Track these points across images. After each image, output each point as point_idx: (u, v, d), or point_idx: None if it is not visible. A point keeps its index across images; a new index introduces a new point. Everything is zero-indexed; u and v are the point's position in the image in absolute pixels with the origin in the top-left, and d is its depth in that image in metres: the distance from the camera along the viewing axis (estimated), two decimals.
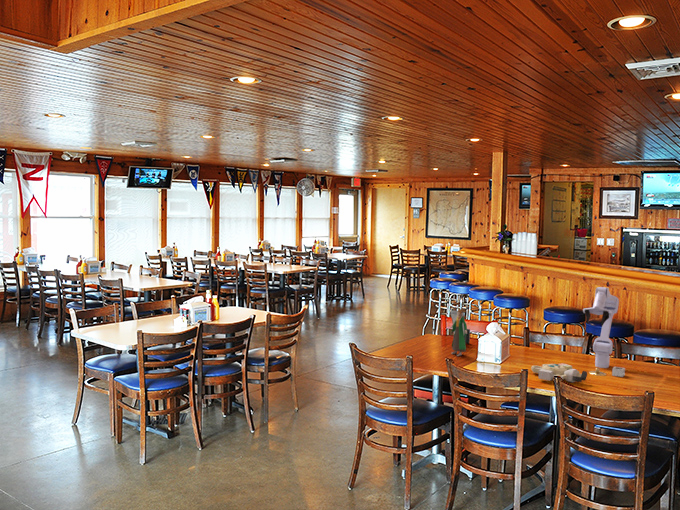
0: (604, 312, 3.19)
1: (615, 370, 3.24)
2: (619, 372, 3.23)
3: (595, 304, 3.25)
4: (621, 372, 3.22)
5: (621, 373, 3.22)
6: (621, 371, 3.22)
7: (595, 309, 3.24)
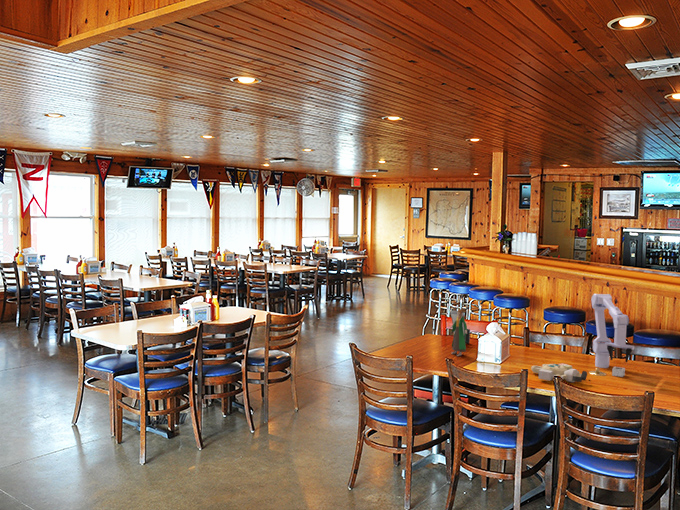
0: (627, 351, 3.20)
1: (615, 370, 3.24)
2: (619, 372, 3.23)
3: (616, 341, 3.23)
4: (621, 372, 3.22)
5: (621, 373, 3.22)
6: (621, 371, 3.22)
7: None
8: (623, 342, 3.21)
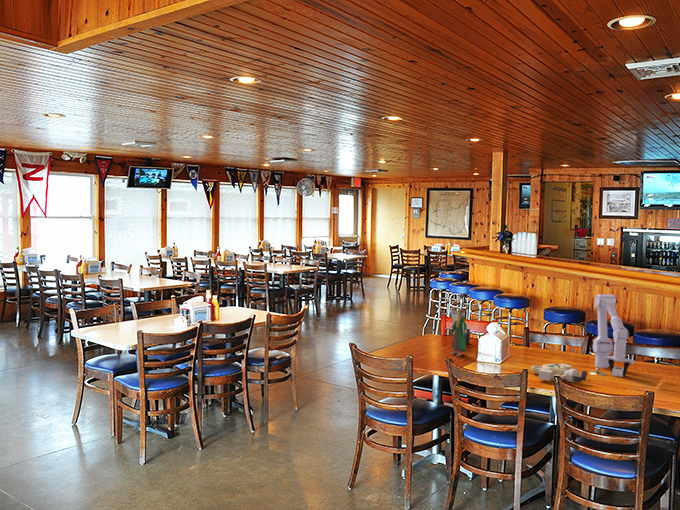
0: (625, 365, 3.21)
1: (615, 370, 3.24)
2: (619, 372, 3.23)
3: (616, 354, 3.23)
4: (621, 372, 3.22)
5: (621, 373, 3.22)
6: (621, 371, 3.22)
7: None
8: (623, 356, 3.22)
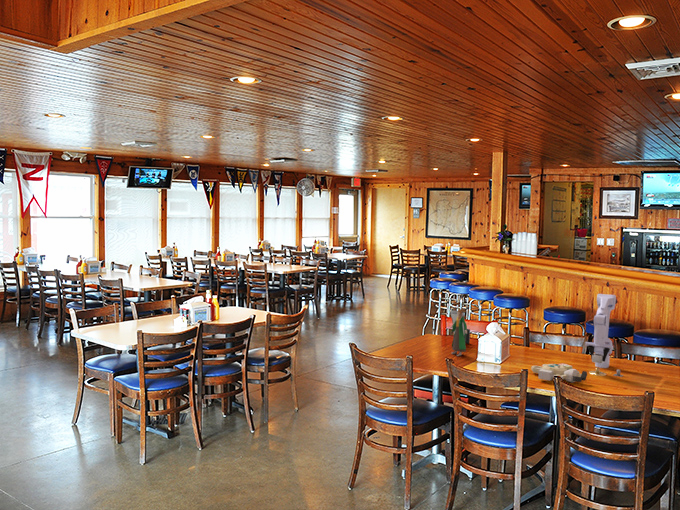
0: (604, 351, 3.23)
1: (595, 356, 3.26)
2: (599, 358, 3.25)
3: (596, 340, 3.26)
4: (600, 358, 3.24)
5: (600, 359, 3.24)
6: (600, 357, 3.24)
7: None
8: (602, 342, 3.24)
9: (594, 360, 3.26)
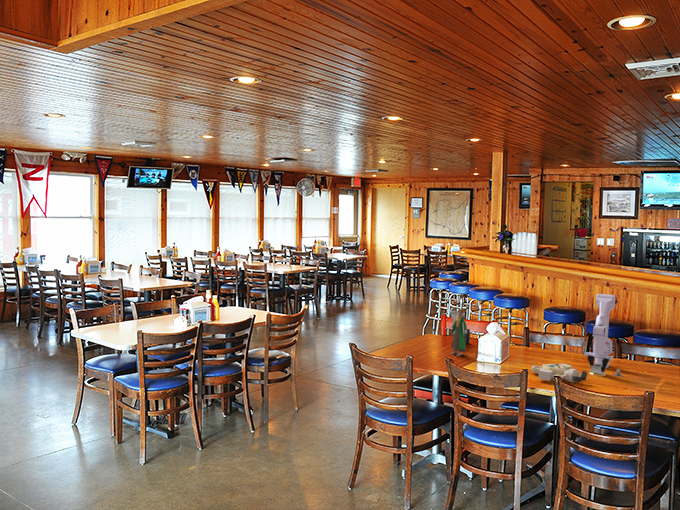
0: (603, 361, 3.24)
1: (593, 367, 3.27)
2: (598, 368, 3.25)
3: (595, 351, 3.26)
4: (599, 369, 3.25)
5: (599, 370, 3.25)
6: (599, 368, 3.25)
7: None
8: (601, 352, 3.25)
9: (593, 370, 3.27)
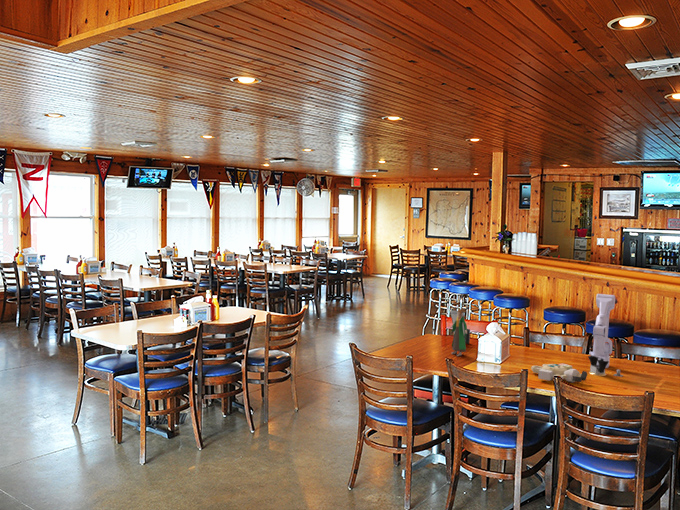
0: (598, 361, 3.23)
1: (592, 367, 3.29)
2: (594, 369, 3.27)
3: (593, 350, 3.28)
4: (595, 369, 3.26)
5: (595, 370, 3.26)
6: (595, 368, 3.26)
7: None
8: (598, 352, 3.25)
9: (591, 370, 3.29)
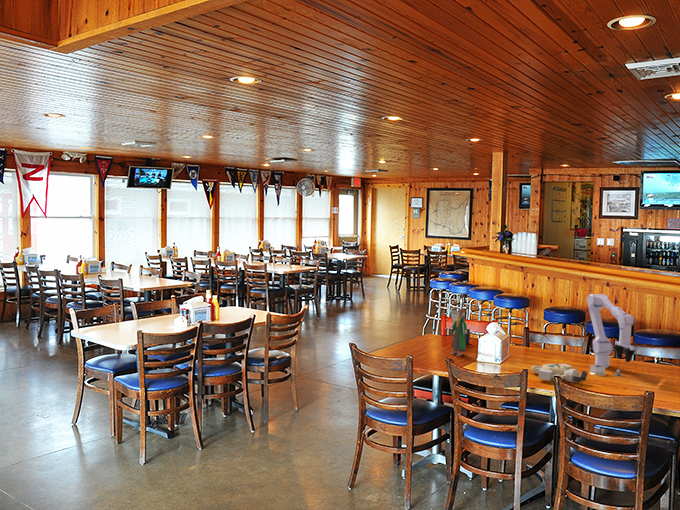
0: (624, 351, 3.23)
1: (592, 367, 3.29)
2: (594, 369, 3.27)
3: (619, 339, 3.28)
4: (595, 369, 3.26)
5: (595, 370, 3.26)
6: (595, 368, 3.26)
7: None
8: (624, 341, 3.25)
9: (591, 370, 3.29)
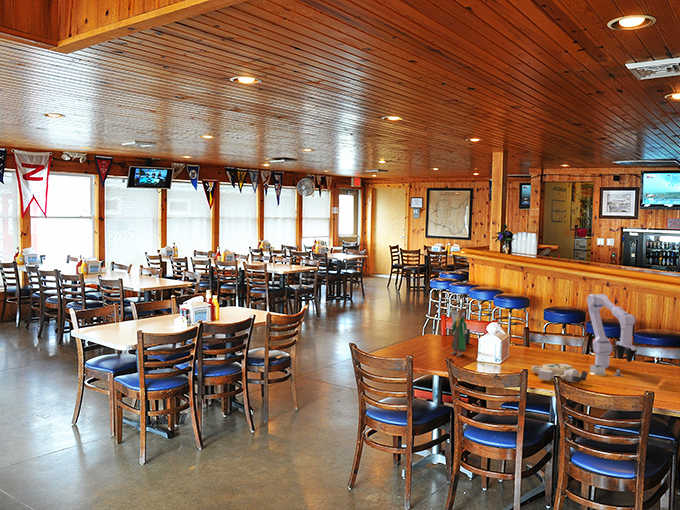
0: (626, 351, 3.23)
1: (592, 367, 3.29)
2: (594, 369, 3.27)
3: None
4: (595, 369, 3.26)
5: (595, 370, 3.26)
6: (595, 368, 3.26)
7: None
8: (625, 341, 3.25)
9: (591, 370, 3.29)
